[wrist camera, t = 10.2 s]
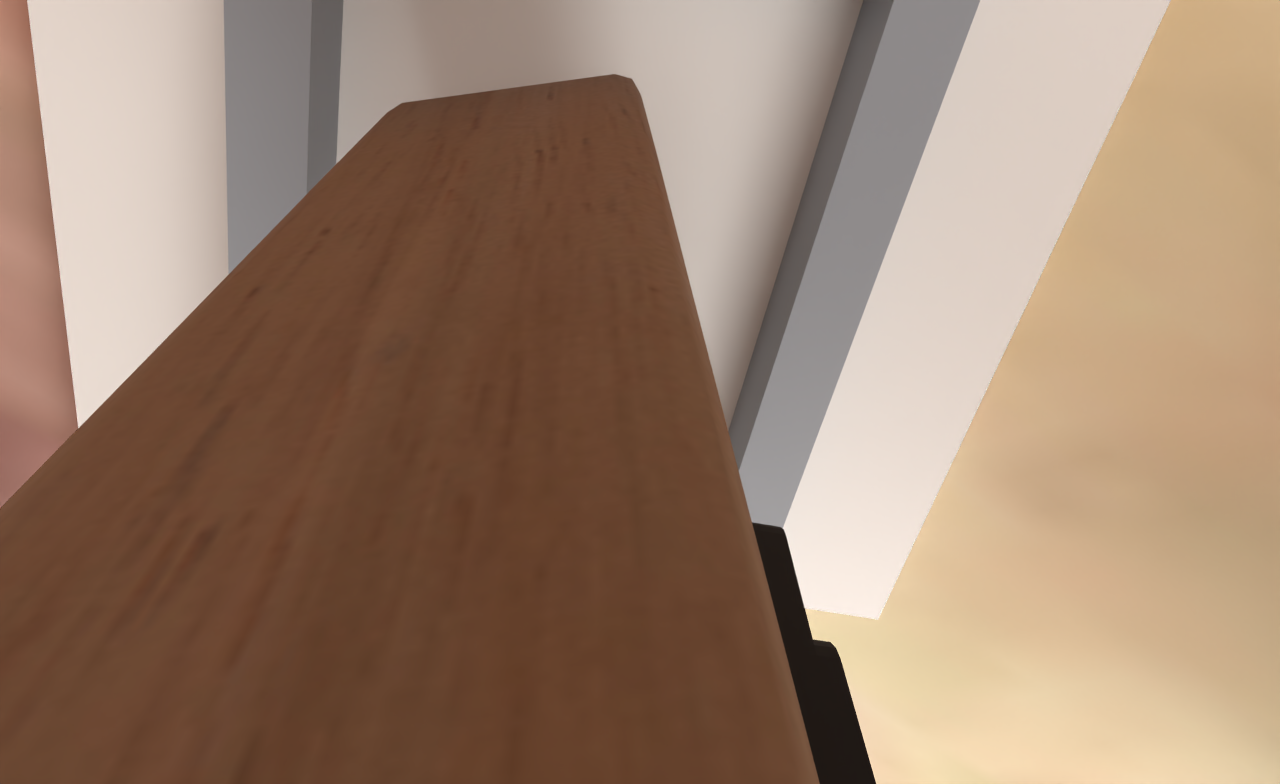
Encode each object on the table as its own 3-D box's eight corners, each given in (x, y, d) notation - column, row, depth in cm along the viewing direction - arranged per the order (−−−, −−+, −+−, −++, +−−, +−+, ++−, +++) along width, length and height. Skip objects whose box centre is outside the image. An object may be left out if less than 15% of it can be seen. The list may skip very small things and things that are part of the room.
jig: (1169, -59, 18) (1263, -52, 15) (869, 595, 26) (896, 672, 24) (19, -360, 15) (-108, -414, 12) (106, 475, 24) (42, 547, 21)
